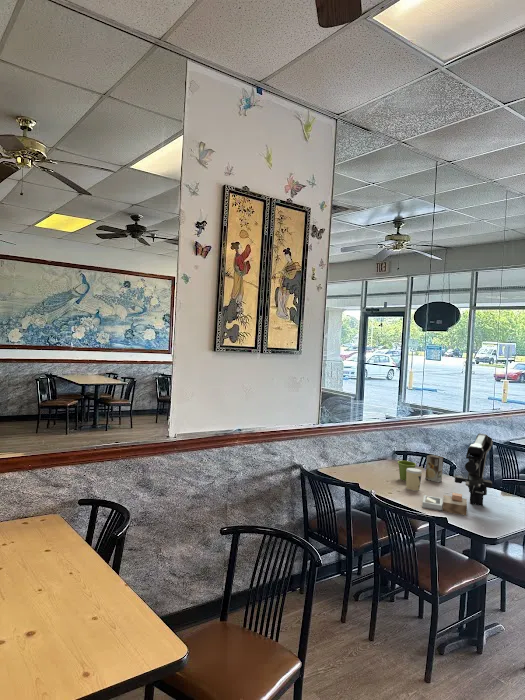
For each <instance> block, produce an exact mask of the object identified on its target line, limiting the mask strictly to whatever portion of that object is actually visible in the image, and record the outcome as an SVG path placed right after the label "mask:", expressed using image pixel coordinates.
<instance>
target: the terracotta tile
mask: <svg viewBox="0 0 525 700" xmlns="http://www.w3.org/2000/svg"><path fill="white" fill-rule="evenodd" d="M451 496H452V500H458V501H462V498H463V494H462V493H459V492H458V493H457V492H452V494H451Z"/></svg>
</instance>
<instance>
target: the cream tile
mask: <svg viewBox="0 0 525 700" xmlns="http://www.w3.org/2000/svg"><path fill="white" fill-rule="evenodd" d="M425 502H428V503H434V504H436V501H435V500H433V499H431V498H429V497H427V498H426V500H425Z"/></svg>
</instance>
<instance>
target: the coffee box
mask: <svg viewBox="0 0 525 700" xmlns="http://www.w3.org/2000/svg"><path fill="white" fill-rule="evenodd" d="M425 467H426V468H425V478H424V479H425V480H427V479H428V481H430V480H431V481H432V482H435V483H441V482H442V481H443V469H444V457H443V456H439V455H436V454H429V455H426V464H425Z"/></svg>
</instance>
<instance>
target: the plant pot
mask: <svg viewBox="0 0 525 700" xmlns="http://www.w3.org/2000/svg"><path fill="white" fill-rule="evenodd" d="M397 464H398V470H399V471H398V473H399V480H401V481H405V482H406V469H407V468H415V467H416V466H417V463H415V462H414V461H410V460H409V461H408V460H398V461H397Z"/></svg>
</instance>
